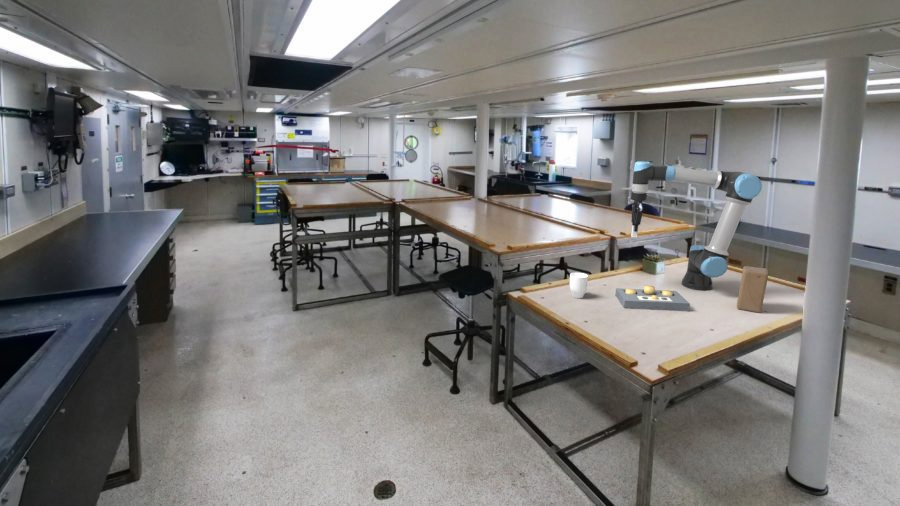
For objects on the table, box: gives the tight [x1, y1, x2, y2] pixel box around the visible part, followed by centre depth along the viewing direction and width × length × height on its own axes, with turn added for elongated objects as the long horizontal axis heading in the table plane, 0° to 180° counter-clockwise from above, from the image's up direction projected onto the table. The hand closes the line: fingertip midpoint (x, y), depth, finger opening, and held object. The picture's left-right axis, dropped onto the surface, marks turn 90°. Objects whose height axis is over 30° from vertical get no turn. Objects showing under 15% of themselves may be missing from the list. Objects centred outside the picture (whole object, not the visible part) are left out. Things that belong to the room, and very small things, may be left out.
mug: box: [569, 272, 589, 299], centre depth 240 cm, size 12×9×12 cm
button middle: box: [643, 284, 656, 295], centre depth 235 cm, size 5×5×4 cm
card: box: [637, 295, 672, 302], centre depth 227 cm, size 15×5×2 cm, turn 84°
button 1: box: [625, 288, 636, 294], centre depth 237 cm, size 5×5×4 cm
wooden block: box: [736, 265, 769, 314], centre depth 224 cm, size 10×10×20 cm
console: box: [614, 287, 691, 312], centre depth 232 cm, size 30×18×4 cm, turn 84°
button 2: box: [662, 289, 673, 296], centre depth 235 cm, size 5×5×4 cm
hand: (634, 237), depth 244 cm, fingers closed
